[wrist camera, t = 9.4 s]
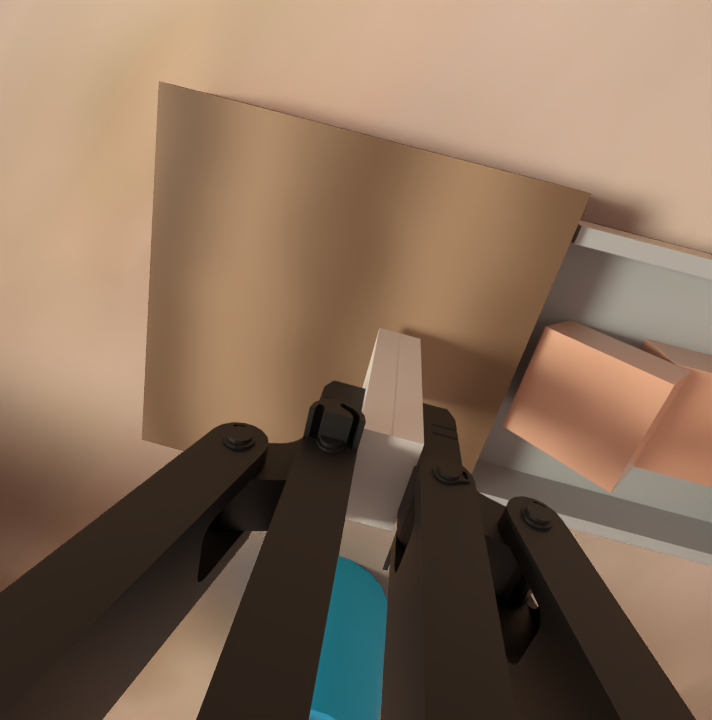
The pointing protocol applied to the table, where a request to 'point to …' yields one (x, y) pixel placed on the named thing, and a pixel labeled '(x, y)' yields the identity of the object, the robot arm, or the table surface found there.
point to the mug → (352, 648)
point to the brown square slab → (332, 269)
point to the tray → (632, 326)
